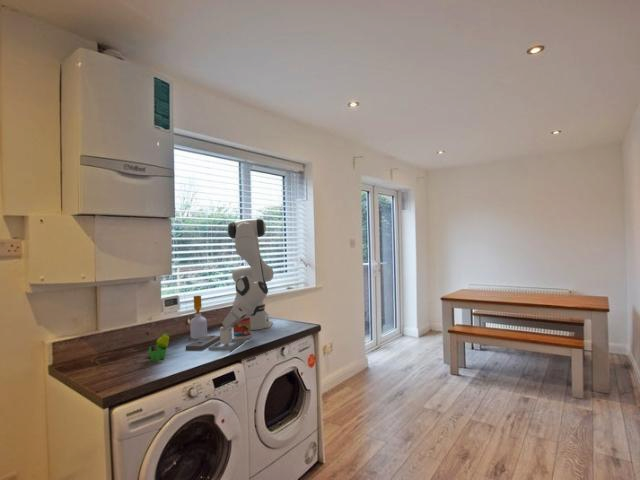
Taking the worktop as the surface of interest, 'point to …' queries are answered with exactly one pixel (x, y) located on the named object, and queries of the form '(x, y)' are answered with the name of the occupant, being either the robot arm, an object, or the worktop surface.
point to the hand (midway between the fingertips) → (226, 328)
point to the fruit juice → (241, 324)
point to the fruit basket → (159, 348)
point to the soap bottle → (198, 321)
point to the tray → (213, 347)
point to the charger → (226, 336)
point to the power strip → (203, 342)
